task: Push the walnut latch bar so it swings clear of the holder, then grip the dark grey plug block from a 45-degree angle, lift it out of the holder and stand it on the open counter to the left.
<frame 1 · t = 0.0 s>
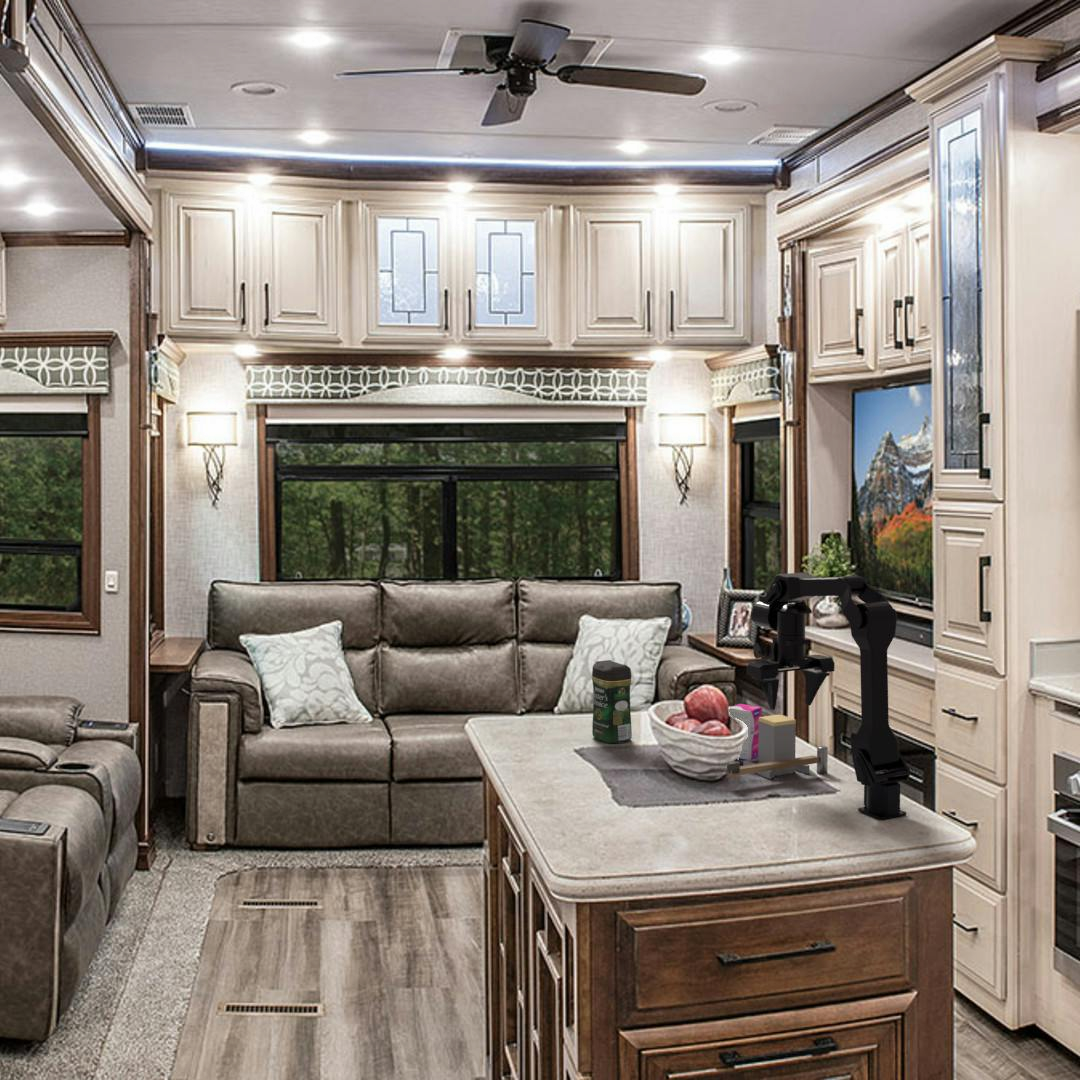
hand: (790, 707, 258), 15 cm above the table, tool pointing down, fingers open, 9 cm apart
holder: (776, 770, 263), on the table
plug block: (776, 771, 263), on the table
coffee jar: (611, 740, 292), on the table
supplement box: (744, 758, 274), on the table
hinge post: (822, 772, 261), on the table
latch bar: (772, 762, 256), point 4 cm above the table, hinge at 0.0°
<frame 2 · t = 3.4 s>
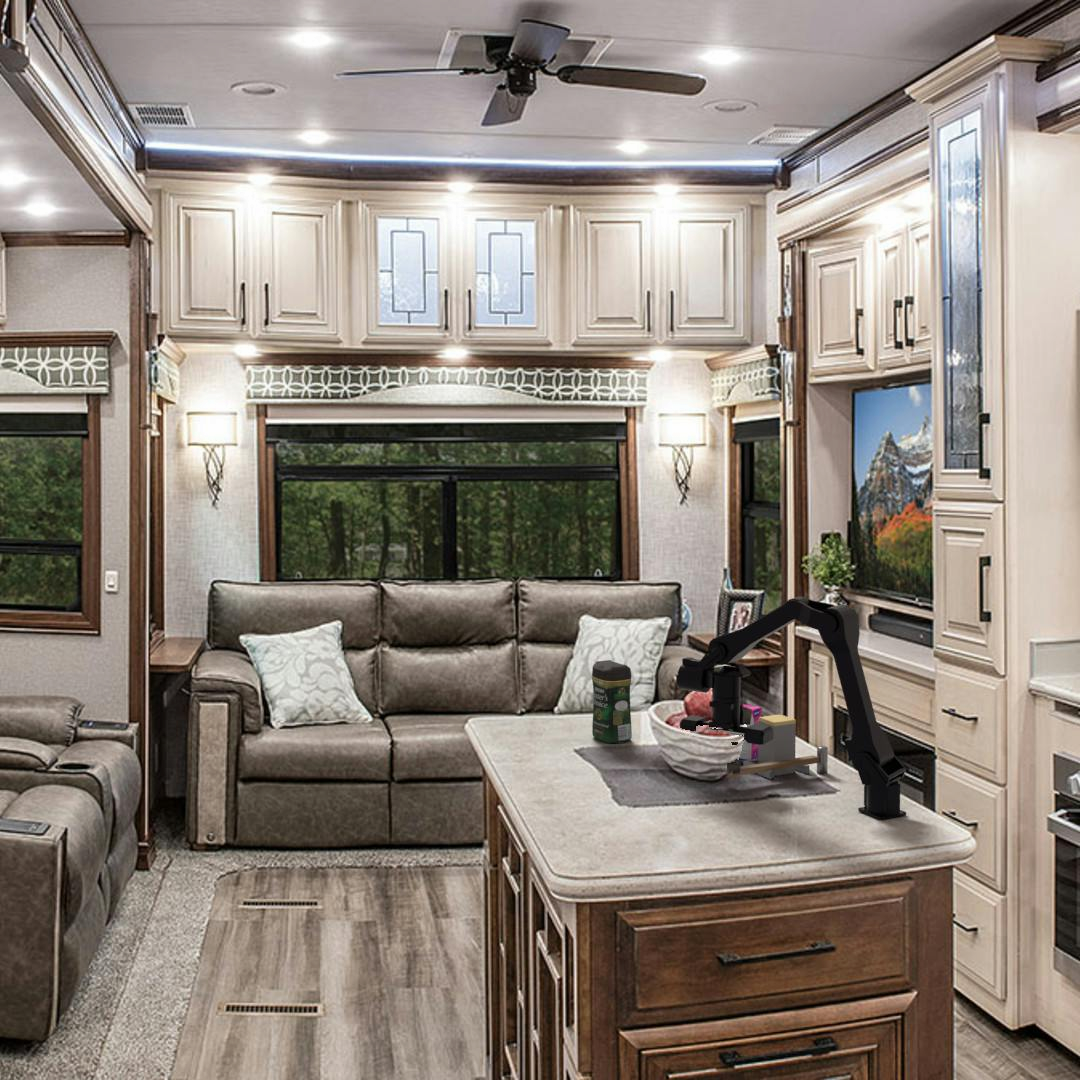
hand: (725, 770, 254), 3 cm above the table, tool pointing down, fingers closed
latch bar: (773, 762, 256), point 4 cm above the table, hinge at 0.4°, touching gripper
everything else where it was.
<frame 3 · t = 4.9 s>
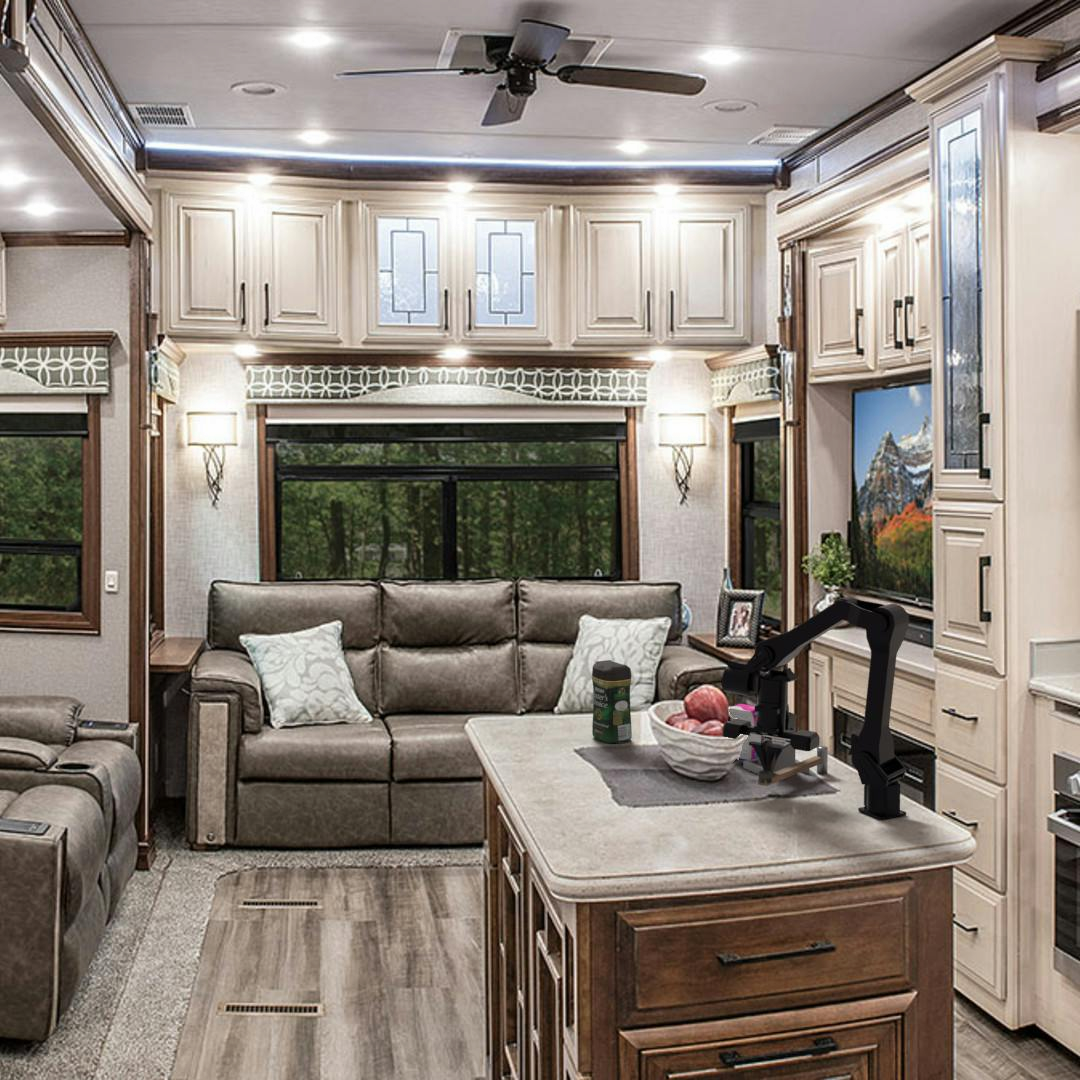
hand: (768, 776, 249), 3 cm above the table, tool pointing down, fingers closed
latch bar: (790, 767, 252), point 4 cm above the table, hinge at 22.3°, touching gripper
everything else where it was.
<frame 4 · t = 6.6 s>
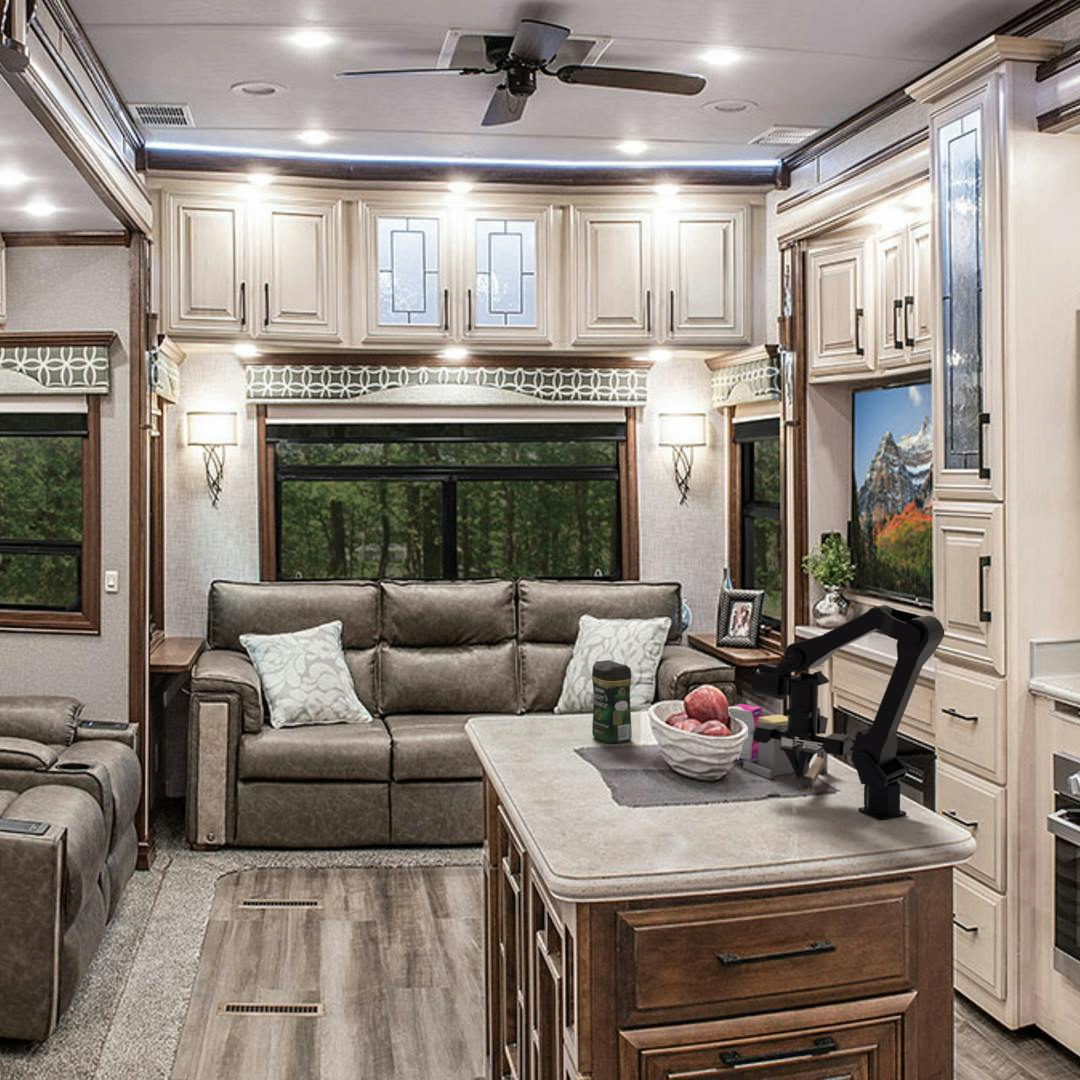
hand: (800, 781, 245), 3 cm above the table, tool pointing down, fingers closed
latch bar: (813, 770, 249), point 4 cm above the table, hinge at 43.4°, touching gripper
everything else where it was.
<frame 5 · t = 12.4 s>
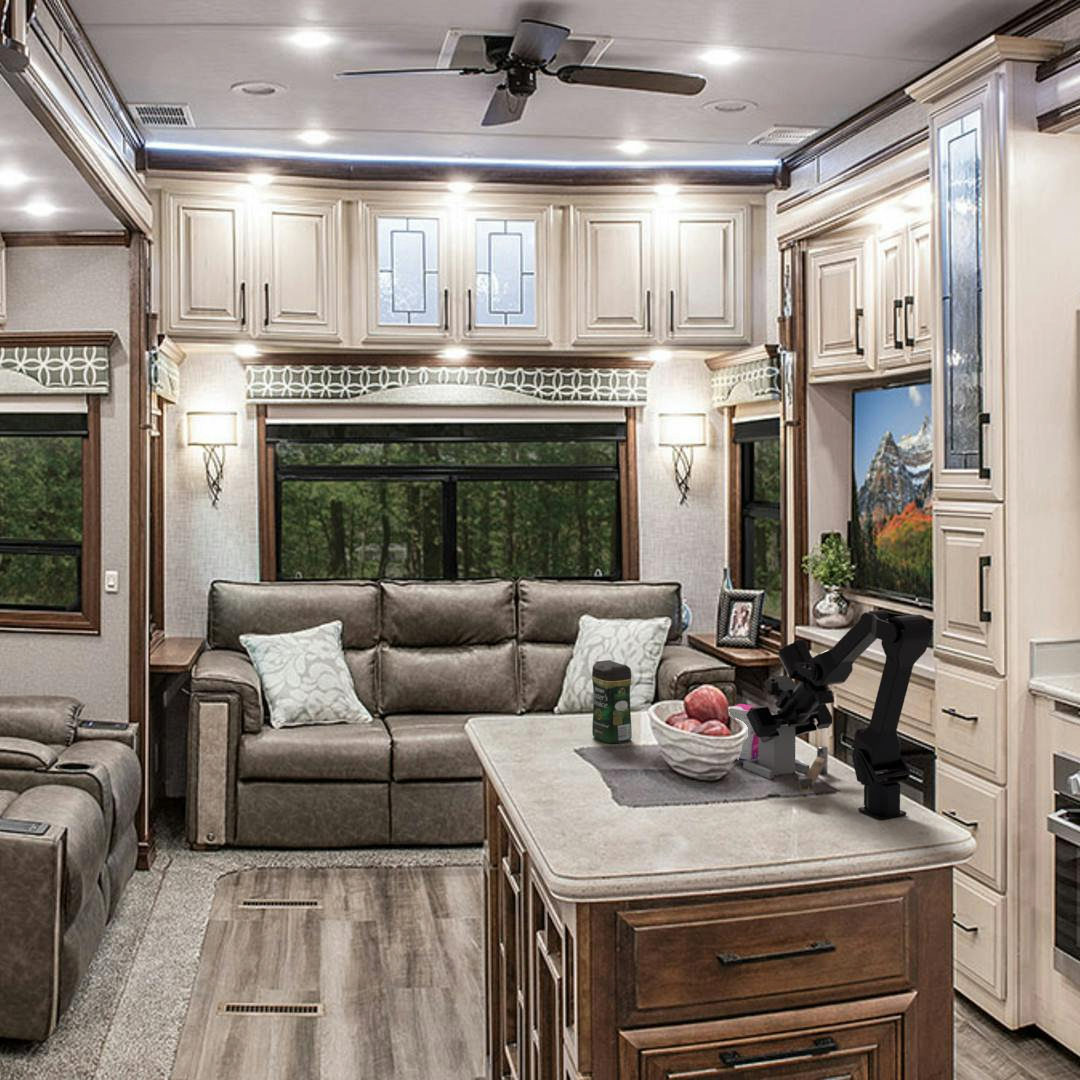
hand: (773, 738, 264), 7 cm above the table, tool tilted 45°, fingers closed on plug block, 5 cm apart
plug block: (776, 770, 263), on the table, touching gripper
latch bar: (813, 770, 249), point 4 cm above the table, hinge at 43.5°
everything else where it was.
when the fingers open (8 cm above the table, at t = 17.4 s): plug block stays where it is, on the table.
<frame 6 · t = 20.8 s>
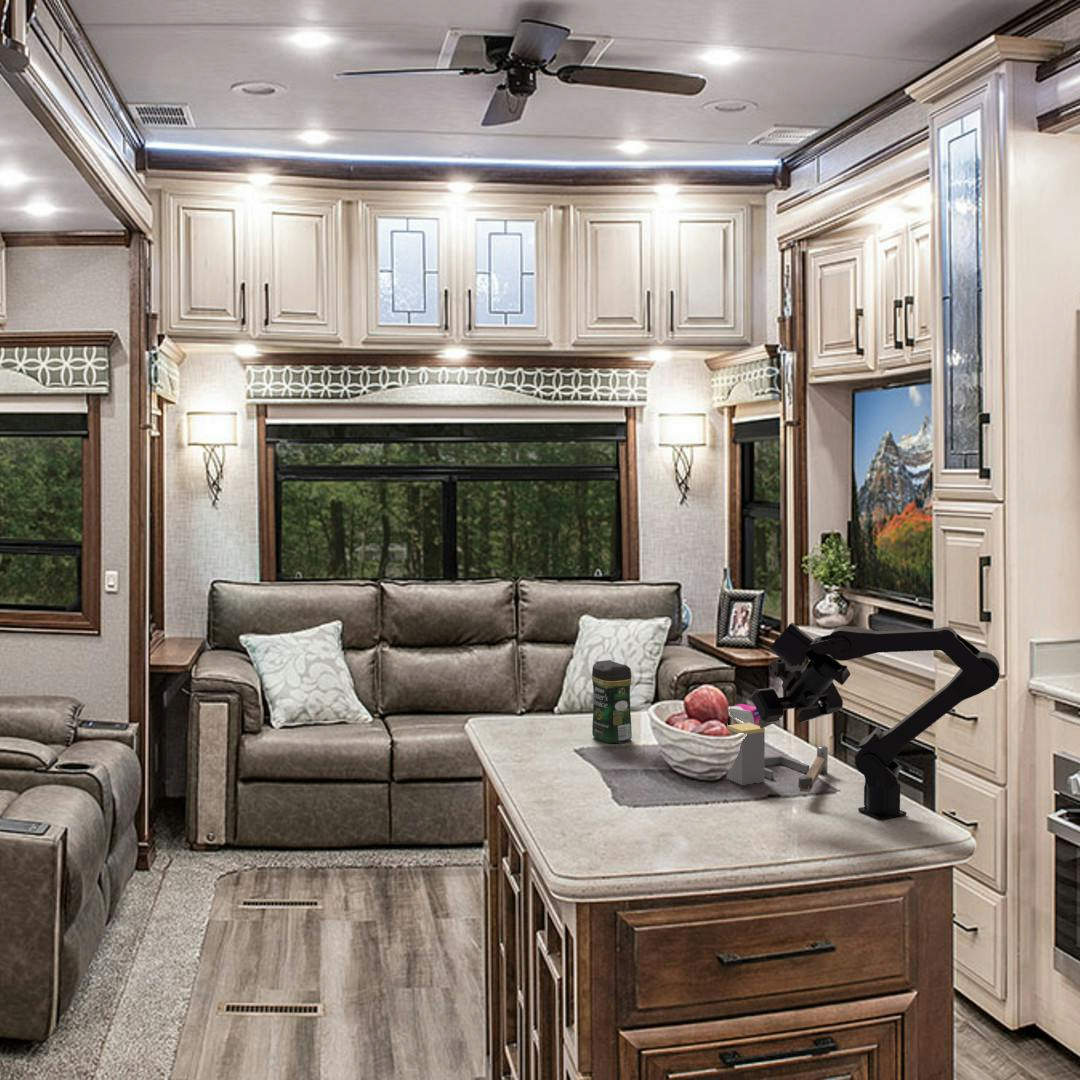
hand: (779, 723, 248), 14 cm above the table, tool tilted 45°, fingers open, 9 cm apart
plug block: (745, 780, 256), on the table
everything else where it was.
at the end: plug block inside the target area (0.1 cm from its centre), on the table; plug block tilted 0°; latch bar at +44° (first picture: +0°) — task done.
